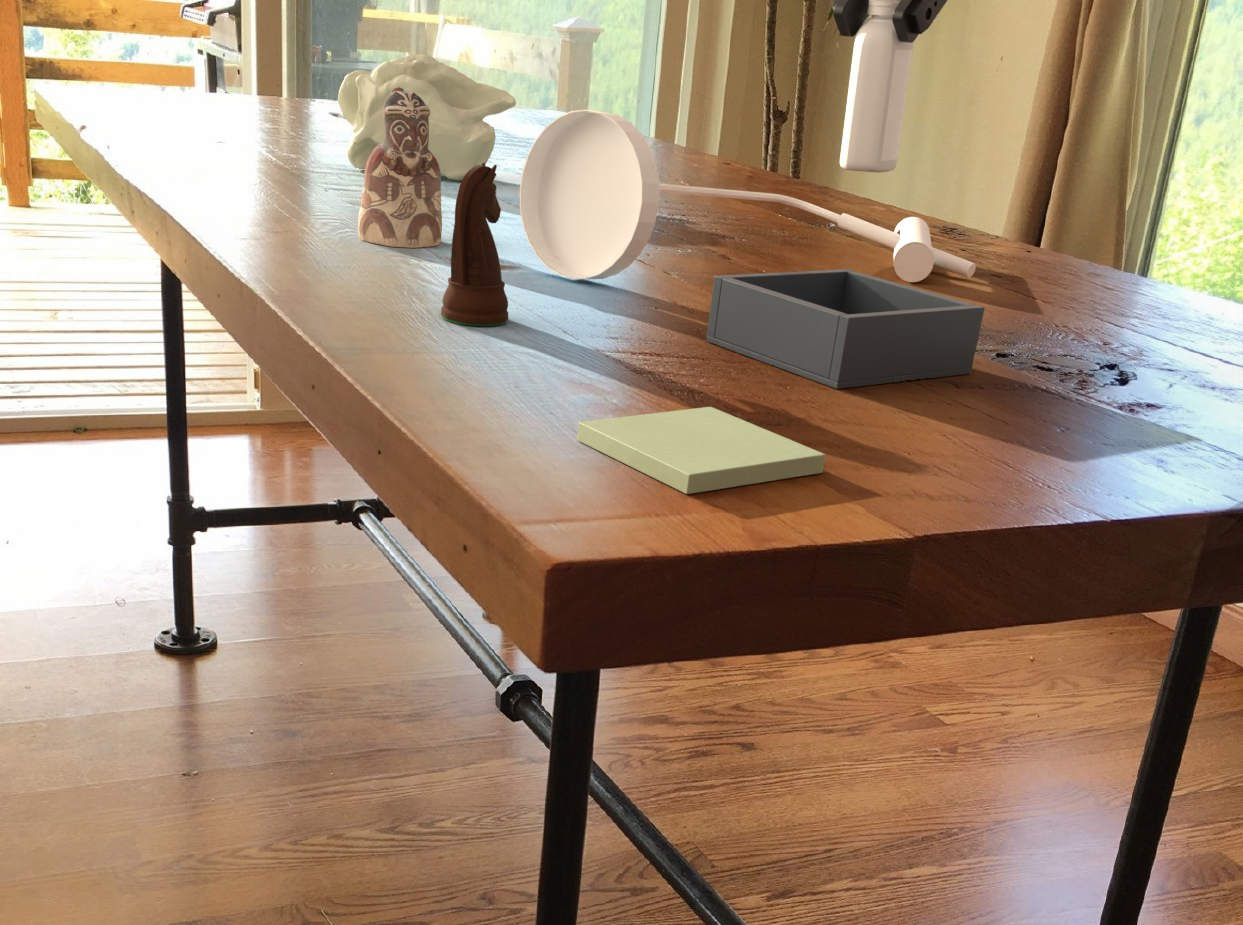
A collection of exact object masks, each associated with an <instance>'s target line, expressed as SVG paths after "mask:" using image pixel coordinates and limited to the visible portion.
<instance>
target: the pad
mask: <svg viewBox="0 0 1243 925" xmlns="http://www.w3.org/2000/svg"><path fill="white" fill-rule="evenodd" d="M576 435H577V436H576V441H578V442H580V443H582V444H583V445H585V446H587V447H590V448H592V449H593V450H596V451H598V452H600V453H602V454H604V455H606V456H608V457H610V458H613V459H614V460H616V461H618V462H620V463H622V464H625V465H626V466H628V467H630V468H632V469H635V470H636V471H639V472H640V473H642V474H644V475H647V476H648V477H651V478H653V479H654V480H657V481H659V482H661V483H663V484H665V485H667V486H669V487H671V488H673V489H675V490H677V491H679V492H681V493H683V494H685V495H692V494H698V493H705V492H710V491H717V490H723V489H731V488H735V487H742V486H749V485H753V484H754V485H755V484H761V483H767V482H773V481H779V480H781V481H782V480H787V479H793V478H798V477H805V476H812V475H818V474H823V472H824V467H825V462H826V461H825V460H826V454H825V453H823V452H821V451H818V450H816V449H813V448H811V447H809V446H806V445H804V444H801V443H799V442H796V441H794V440H792V439H790V438H787V437H785V436H782V435H780V434H778V433H775V432H773V431H770V430H768V429H766V428H763V427H760V426H758V425H756V424H753V423H751V422H748V421H746V420H745V419H741V418H739V417H736V416H734V415H732V414H729V413H728V412H724V411H722V410H720V409H717V408H715V407H712V406H704V407H696V408H688V409H677V410H670V411H661V412H660V411H659V412H654V413H645V414H634V415H627V416H618V417H611V418H610V417H609V418H602V419H593V420H584V421H578V426H577V434H576Z"/></svg>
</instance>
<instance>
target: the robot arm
mask: <svg viewBox="0 0 1243 925" xmlns="http://www.w3.org/2000/svg"><path fill="white" fill-rule="evenodd" d="M947 2H948V0H901V1H900V3H899V4H898V5H897V7H896V8H895V10H894V12H893V16H892V21H893V24H894V28H895V31H896V34H897V37H898V39H899V41H900V42H908V43H912V42H913V43H914V42H915V41H916V39H917V38H918V37H919V35H923V33H924V32H926V31H927V30H928V29H930V27H931V25H932V24H933V23H934V20H935V19H936V18H937V17H938V15H939V14H940V12H941V11H942V9H943V8H944V6H945V5H946V3H947ZM868 5H869V0H833V1H832V5H831V9H832V14H833V19H834V21H835V24H836V26H837V30H838V33H839V35H840V36H841V37H849V38H854V37H856V35H857V33H858V31H859V29H860V28H861V26H862V25H863V24H864V23H865V22H866V21H867V20H868V19H869V16H870V15H868V14H867V13H868Z"/></svg>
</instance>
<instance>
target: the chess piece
mask: <svg viewBox="0 0 1243 925" xmlns="http://www.w3.org/2000/svg"><path fill="white" fill-rule="evenodd" d="M497 167H498V166H497V164H494V165H493V166H492V167H490V166H487V165H485V163H483V164H482V165H477V166H474V167H473V168H471V169H470V170H469V171H468V172H467V173H466V174H465V176H464V178H463V179H462V180H461V182H460V184H459V187H458V191H457V195H456V201H455V207H454V225H453V230H452V237H451V238H452V239H451V253H450V277H448V278H447V282H448V285H447V287H446V288H445V291H444V294H443V296H442V306H441V308H440V315H441V317H442V319H443V320H445V321H447V322H449V323H453V324H458V325H463V326H471V327H495V326H501V325H504V324H506V323H507V321H508V320H509V312H508V308H509V301H508V297H507V294H506V292H505V286H506V282H505V281H503V277H502V276H503V275H502V269H501V263H500V257H499V253H498V249H497V245H496V242H495V239H494V236H493V233H492V230H491V228H490V226H489V224H497V222H498V221H499V219H500V218H501V212H502V208H501V206H500V204H499V200H498V197H497V185H496V184H495V183H494V181H495V178H496V177H497V173H496V171H497Z"/></svg>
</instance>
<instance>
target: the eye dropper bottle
mask: <svg viewBox="0 0 1243 925" xmlns="http://www.w3.org/2000/svg"><path fill="white" fill-rule="evenodd" d="M900 1H901V0H869V5H868V13H867V14H868V15H869V16H871V17H868V18H867V19H866V21H865V22H864V24H863V25H862V26H861V28H860V29H859V31H858V32H857V34H856V35H855V39H854V44H853V50H852V51H853V52H852V58H851V67H850V75H849V82H848V91H847V99H846V108H845V116H844V123H843V130H842V140H841V148H840V156H839V166H840V168H841V169H843V170H846V171H852V172H853V171H854V172H865V173H886V172H891V171H894V170H895V169H896V168H897V166H898V165H897V164H898V156H899V152H900V144H901V137H902V129H903V124H904V123H903V122H904V117H905V108H906V101H907V94H908V86H909V80H910V79H909V78H910V72H911V64H912V59H913V58H912V57H913V51H914V42H912V43H908V42H900V41H899V39H898V37H897V34H896V31H895V28H894V24H893V21H892V16H893V12H894V10H895V8H896V7H897V5H898V4H899V3H900Z"/></svg>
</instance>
